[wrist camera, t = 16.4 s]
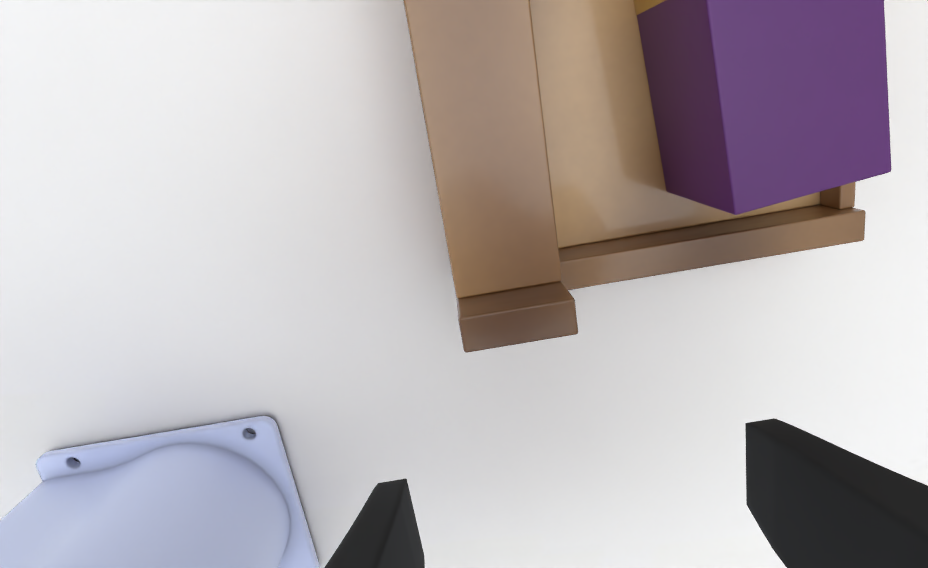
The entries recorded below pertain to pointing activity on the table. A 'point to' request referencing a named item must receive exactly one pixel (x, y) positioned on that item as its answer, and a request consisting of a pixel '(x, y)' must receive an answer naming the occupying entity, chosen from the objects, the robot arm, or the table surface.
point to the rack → (568, 166)
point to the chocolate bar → (766, 96)
